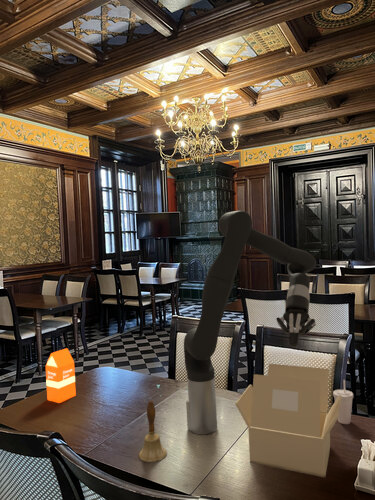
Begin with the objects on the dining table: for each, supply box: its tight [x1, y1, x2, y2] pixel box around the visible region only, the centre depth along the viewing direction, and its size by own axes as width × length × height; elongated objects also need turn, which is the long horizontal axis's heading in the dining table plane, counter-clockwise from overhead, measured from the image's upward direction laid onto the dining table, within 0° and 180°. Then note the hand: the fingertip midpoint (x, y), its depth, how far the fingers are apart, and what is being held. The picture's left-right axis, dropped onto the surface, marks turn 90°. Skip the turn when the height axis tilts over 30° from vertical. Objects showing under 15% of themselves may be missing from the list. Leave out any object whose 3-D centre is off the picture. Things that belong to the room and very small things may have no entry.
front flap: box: [250, 374, 320, 438], centre depth 105 cm, size 18×14×1 cm
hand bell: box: [138, 400, 168, 463], centre depth 113 cm, size 8×8×16 cm
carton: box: [234, 363, 342, 478], centre depth 115 cm, size 28×26×20 cm
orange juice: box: [45, 347, 77, 404], centre depth 161 cm, size 8×9×20 cm
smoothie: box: [332, 379, 354, 425], centre depth 128 cm, size 6×6×14 cm
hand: (293, 345), depth 120 cm, fingers closed
